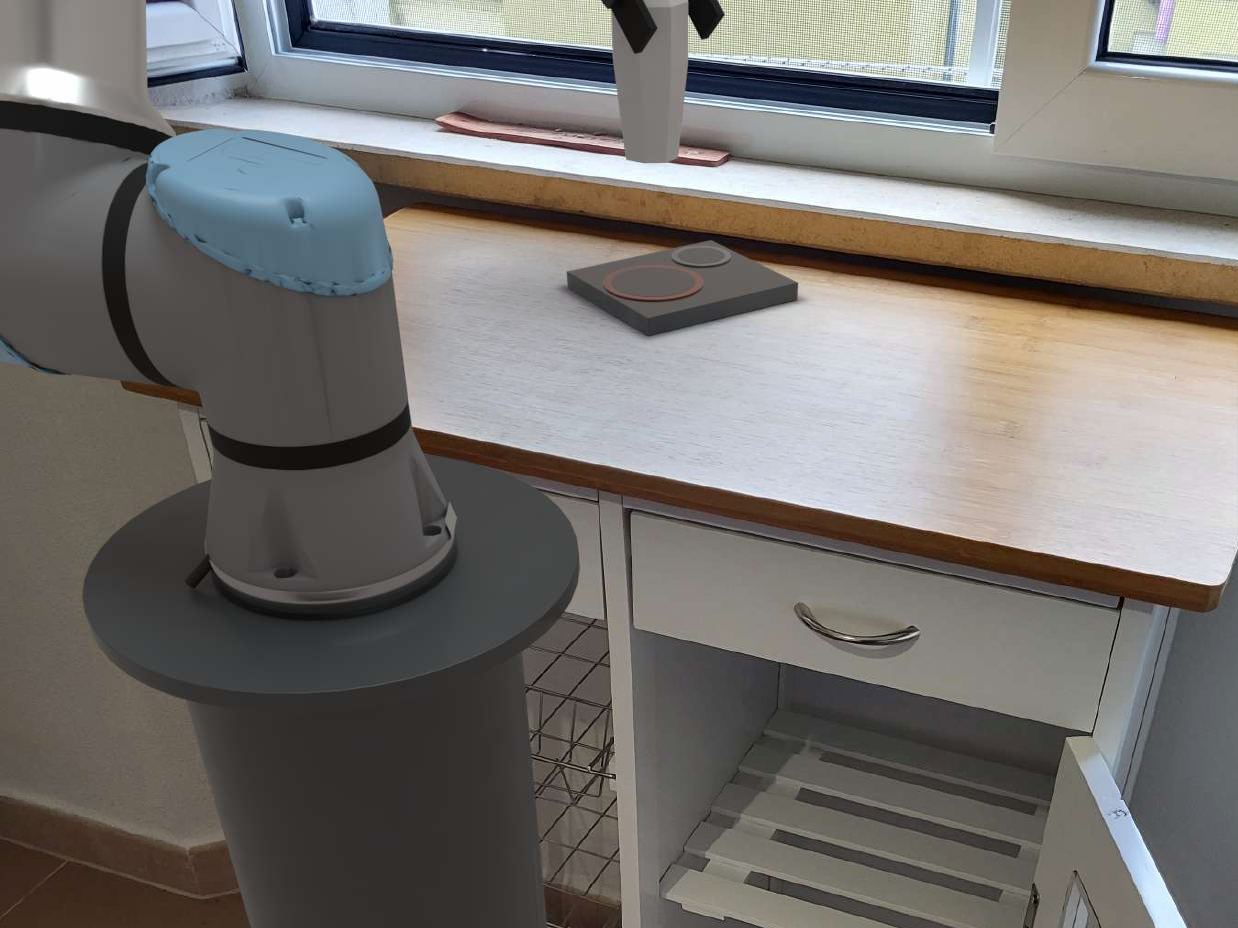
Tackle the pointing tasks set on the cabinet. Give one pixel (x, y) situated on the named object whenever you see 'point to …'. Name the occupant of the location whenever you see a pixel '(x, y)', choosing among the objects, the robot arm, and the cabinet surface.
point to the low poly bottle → (653, 84)
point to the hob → (681, 286)
